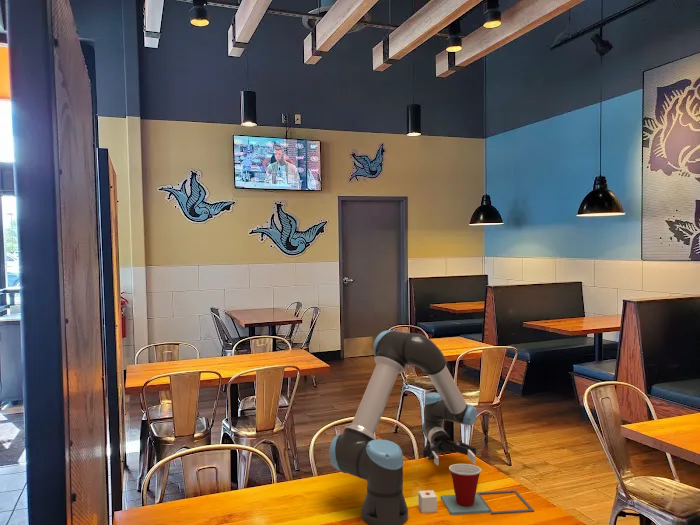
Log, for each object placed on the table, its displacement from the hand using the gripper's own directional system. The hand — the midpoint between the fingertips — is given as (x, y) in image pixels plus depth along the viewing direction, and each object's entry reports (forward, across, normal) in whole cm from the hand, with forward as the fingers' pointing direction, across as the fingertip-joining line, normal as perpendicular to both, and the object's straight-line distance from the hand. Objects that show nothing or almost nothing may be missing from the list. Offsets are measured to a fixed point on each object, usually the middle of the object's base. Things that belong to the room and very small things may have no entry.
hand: (456, 460), depth 195 cm
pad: (+11, 0, -11) cm, 15 cm away
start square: (+11, -14, -11) cm, 20 cm away
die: (+12, +13, -11) cm, 21 cm away
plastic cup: (+11, 0, -10) cm, 15 cm away
